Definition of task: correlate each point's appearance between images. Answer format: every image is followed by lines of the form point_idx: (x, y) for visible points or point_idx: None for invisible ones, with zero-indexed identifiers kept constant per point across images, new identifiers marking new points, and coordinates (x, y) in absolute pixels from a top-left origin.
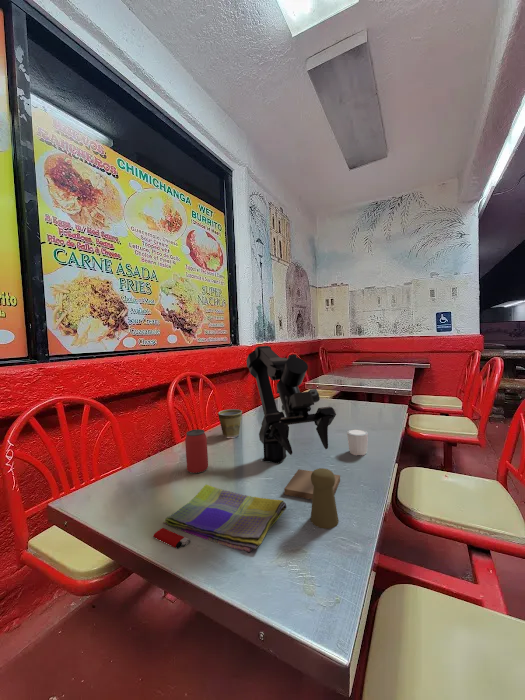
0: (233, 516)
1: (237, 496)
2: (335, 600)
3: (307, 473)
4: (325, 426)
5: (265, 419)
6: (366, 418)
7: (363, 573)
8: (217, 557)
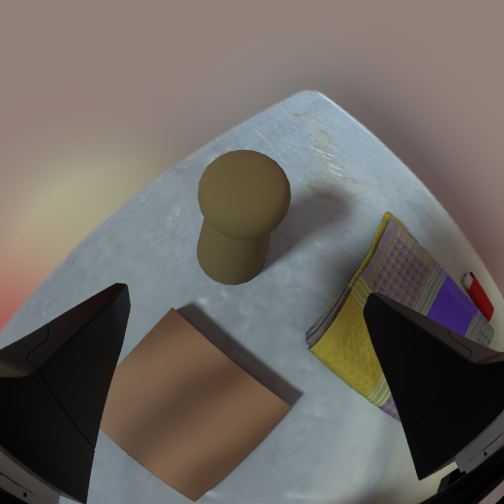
0: None
1: None
2: (298, 116)
3: (175, 469)
4: (12, 361)
5: None
6: None
7: (242, 125)
8: (430, 234)
